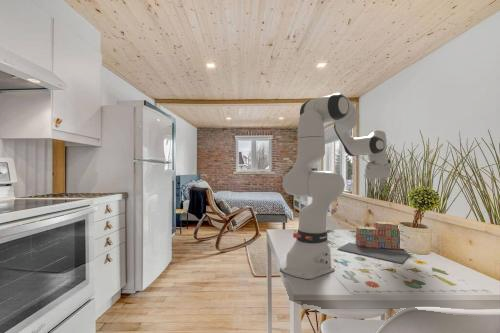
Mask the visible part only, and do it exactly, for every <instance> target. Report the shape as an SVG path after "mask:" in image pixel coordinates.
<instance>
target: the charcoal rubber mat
mask: <svg viewBox="0 0 500 333" xmlns="http://www.w3.org/2000/svg"><path fill="white" fill-rule="evenodd" d="M336 250H337V251H341V252H346V253H351V254H356V255H359V256H364V257H369V258H374V259H377V260H382V261H387V262H392V263H395V264H400V265H403V264H404V263H405V262H406V261H407V259H408V258H409V257H410V256H411V254H410V253H406V252H405V253H404V252H400V251H395V250H391V249H386V248H373V247H360V246H358V245H357V244H356V243H353V242H348V243H345V244H344V245H342V246H340V247H338V248H337V249H336Z"/></svg>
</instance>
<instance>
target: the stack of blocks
mask: <svg viewBox="0 0 500 333" xmlns="http://www.w3.org/2000/svg"><path fill="white" fill-rule="evenodd" d="M399 224H401V225H404V224H403V223H400V222H392V221H391V222H390V221H373V226H372V227H370V226H357V225H356V226H355V244H357V245H358V246H360V247H373V248H380V249H387V250H391V249H392V250H394V249H395V250H401V249H400V231H399V229H398V225H399Z"/></svg>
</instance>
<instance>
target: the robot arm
mask: <svg viewBox="0 0 500 333" xmlns="http://www.w3.org/2000/svg"><path fill="white" fill-rule="evenodd" d="M329 122H334V123H333V124H334V125H333V130H334V132H335V134H336V136H337V137H338V139H339V141H340V143H341V145H342V146H343V149H344V152H345V153H346V154H347V155H348V156H349V157H356V156H368V162H367V163H366V166H365V175H364V177H365V179H366V180H368V179H369V182H370V184H371V186H370V187H371V188H376V186H377V183H376V179H380V182H379V186H380V187H384V186H385V185H386V182H387V181H386V180H387V178H390V176H391V164H392V160H391V159H390V158H389V157H388V155H387V148H388V147H387V146H388V141H387V136H386V132H385V131H384V130H371V131H369V135H367V136H360V137H354V136H351V134H350V133H349V131H351V130H352V129H354V128H355V127H356V126H357V125H358V123H359V122H360V113H359V110H358V109H357V108H356V106H355V105H354V104H353V102H352V101H350V99H349V98H348V97H346V95H344V94H343V93H340V92H336V93H332V94H331V95H325V96H319V97H316V98H314V99H311V100H307V101H305V102H304V103H302V105H301V106H300V109H299V118H298V125H297V136H296V137H297V138H296V139H297V150H296V152H297V153H296V154H297V156H296V159H295V162H294V164H293V166H292V168H291V169H290V170H289V171H288V172H287V173H285V175H284V177H283V178H282V179H283V180H282V189H283V190H284V192H285V193H286V194H287V195H292V196H295V197H305V198H306V197H307V198H311V199H312V200H311V203H310V204H307V205H305V206H303V207H302V208H301V209H300V210H299V212H298V229H297V232H293V234H292V237H293V238H294V239H296V241H295V242H294V243H293V245H292V246H291V247H290V248H289V251H288V252H287V253H286V262H285V263H283V264H281V265H280V267H279V269H280V271H281V272H283V273H285V274H287V275H289V276H292V277H296V278H298V279H299V278H300V279H306V280H312V279H315V278H317V277H320V276H323V275H327V274H329V273H332V272H334V271H335V266H334V265H332V254H331V252H332V251H331V247H330V246H329V244H328V242H327V241H328V231H327V215H328V211H329V208H330V206H331V204H332V203H333V202H334V201H335V200H336V199H337V198H339V197H341V195H342V194H343V192H344V191H345V186H346V185H345V180H344V177H343V176H342V175H341V174H340V173H339V172H335V171H330V170H312V169H313V168H312V167H313V166H314V164H316V163H318V162H319V161H321V160H322V159H324V158H325V154H326V142H325V140H326V139H325V138H326V137H325V126H324V124H325V123H329Z"/></svg>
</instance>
